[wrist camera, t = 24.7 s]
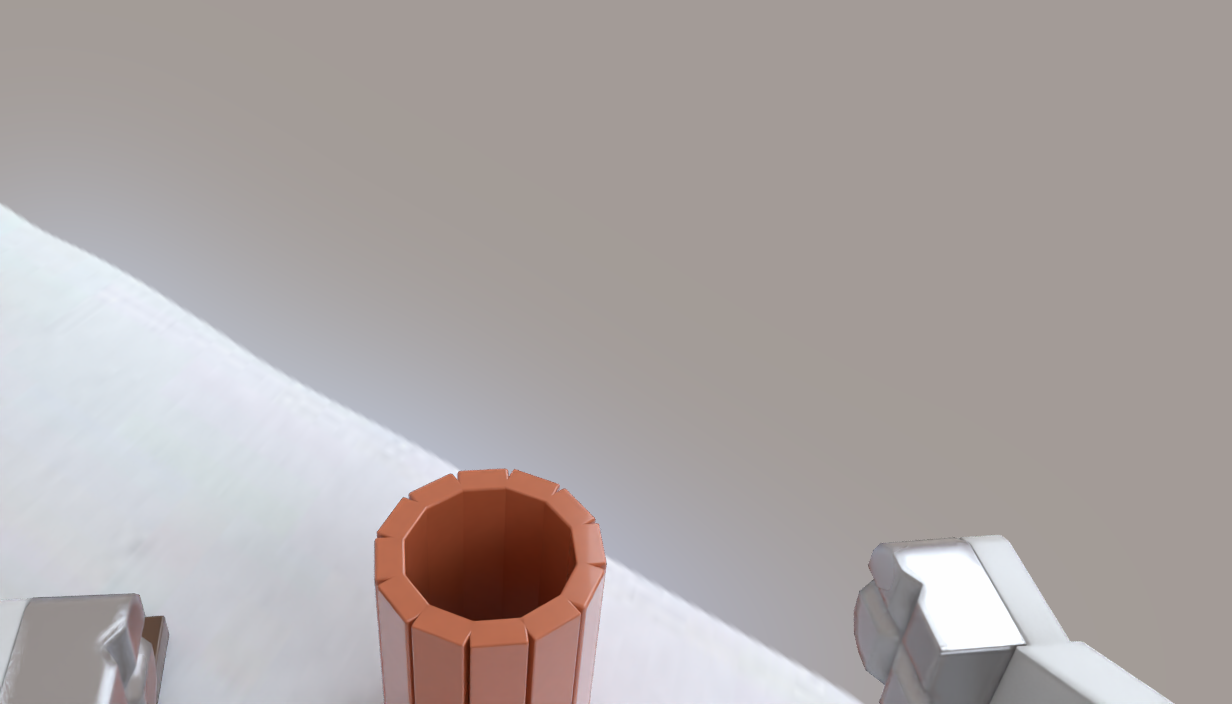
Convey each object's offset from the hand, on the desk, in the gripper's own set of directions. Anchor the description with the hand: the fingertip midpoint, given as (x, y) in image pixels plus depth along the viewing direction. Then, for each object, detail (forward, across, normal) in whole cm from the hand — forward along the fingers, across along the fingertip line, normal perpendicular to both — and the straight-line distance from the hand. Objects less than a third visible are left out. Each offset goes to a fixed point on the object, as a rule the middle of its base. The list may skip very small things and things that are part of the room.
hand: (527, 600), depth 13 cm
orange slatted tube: (+13, -1, +21) cm, 25 cm away
